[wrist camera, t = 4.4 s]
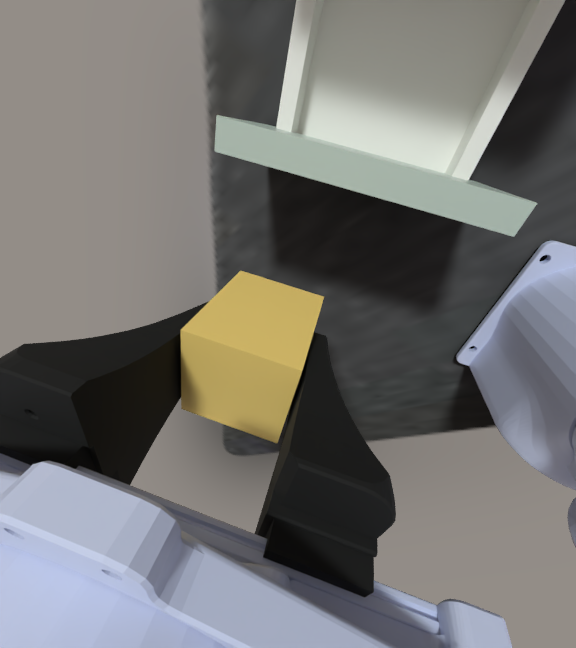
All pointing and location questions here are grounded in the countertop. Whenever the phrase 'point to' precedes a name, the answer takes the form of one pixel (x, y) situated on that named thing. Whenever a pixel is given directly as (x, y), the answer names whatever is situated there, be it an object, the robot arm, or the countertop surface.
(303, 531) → the robot arm
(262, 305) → the block
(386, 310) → the countertop surface
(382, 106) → the pale green drawer
